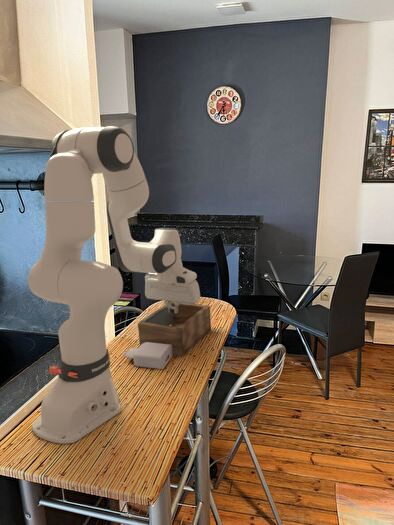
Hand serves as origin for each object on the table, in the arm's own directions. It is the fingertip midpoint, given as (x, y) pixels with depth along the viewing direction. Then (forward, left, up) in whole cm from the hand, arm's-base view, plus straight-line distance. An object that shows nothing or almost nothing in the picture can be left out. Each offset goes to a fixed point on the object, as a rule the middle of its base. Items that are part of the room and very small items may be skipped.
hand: (173, 312), depth 139 cm
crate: (0, -1, -10) cm, 10 cm away
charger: (-17, +1, -10) cm, 20 cm away
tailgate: (0, +6, -8) cm, 10 cm away
